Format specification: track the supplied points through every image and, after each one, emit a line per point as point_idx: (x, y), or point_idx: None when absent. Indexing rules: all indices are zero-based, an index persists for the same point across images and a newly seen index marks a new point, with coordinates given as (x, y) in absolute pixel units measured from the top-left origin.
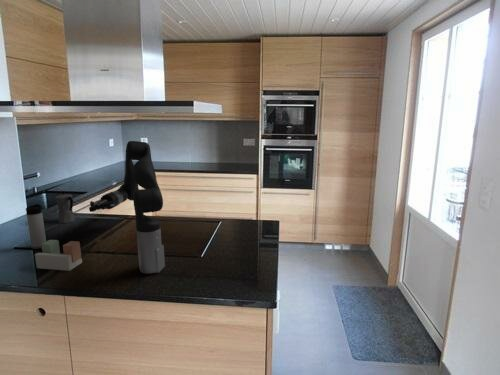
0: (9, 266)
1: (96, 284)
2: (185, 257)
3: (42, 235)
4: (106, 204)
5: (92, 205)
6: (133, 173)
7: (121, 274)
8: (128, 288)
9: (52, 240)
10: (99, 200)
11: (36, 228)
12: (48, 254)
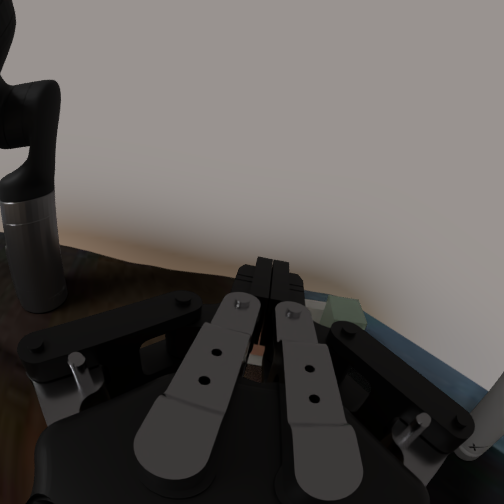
0: (404, 342)
1: (152, 273)
2: None
3: (479, 416)
4: (128, 312)
5: (322, 326)
6: (11, 14)
7: (105, 292)
8: (98, 258)
9: (352, 318)
10: (329, 424)
11: (498, 380)
12: (312, 303)
